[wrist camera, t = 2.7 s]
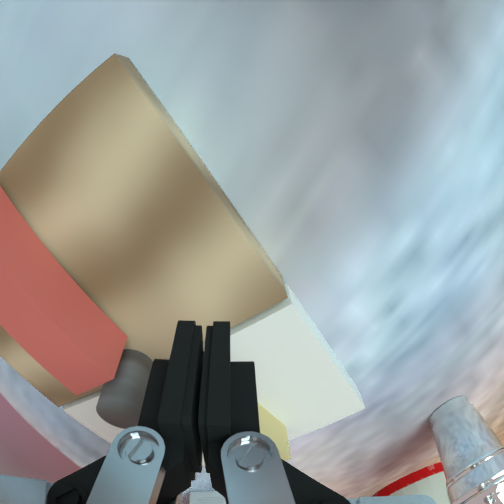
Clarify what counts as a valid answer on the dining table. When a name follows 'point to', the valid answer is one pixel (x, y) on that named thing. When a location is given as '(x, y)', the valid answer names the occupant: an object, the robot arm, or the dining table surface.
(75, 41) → the dining table surface
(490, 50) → the dining table surface
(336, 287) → the dining table surface
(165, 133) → the tan wavy block
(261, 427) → the door
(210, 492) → the small box
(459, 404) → the cup with straw
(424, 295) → the dining table surface
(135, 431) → the robot arm
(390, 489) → the kitchen timer
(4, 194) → the swing bar
